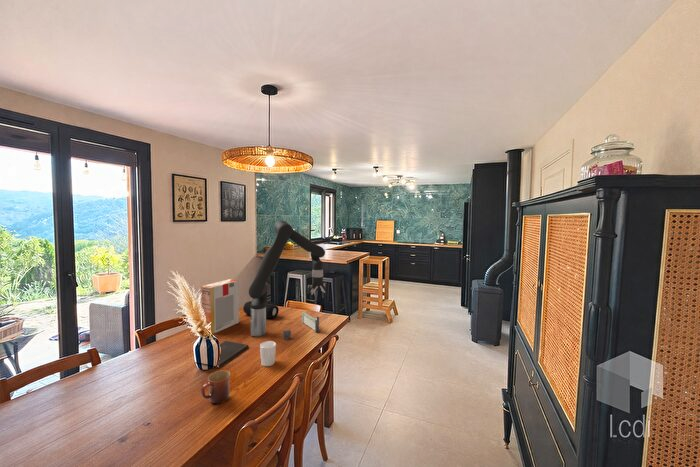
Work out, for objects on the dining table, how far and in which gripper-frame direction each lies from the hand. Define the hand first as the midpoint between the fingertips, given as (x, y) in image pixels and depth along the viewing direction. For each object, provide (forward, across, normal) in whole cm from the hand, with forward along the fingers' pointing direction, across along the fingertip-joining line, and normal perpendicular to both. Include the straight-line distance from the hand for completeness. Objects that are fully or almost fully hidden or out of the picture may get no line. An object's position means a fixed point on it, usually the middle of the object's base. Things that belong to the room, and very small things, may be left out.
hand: (317, 298), depth 199 cm
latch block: (+18, -26, -11) cm, 33 cm away
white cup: (+18, -44, -35) cm, 59 cm away
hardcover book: (+19, -63, -15) cm, 67 cm away
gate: (+18, -7, -1) cm, 19 cm away
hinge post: (+18, -5, -12) cm, 22 cm away
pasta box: (+18, -59, +26) cm, 67 cm away
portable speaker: (+18, -31, +35) cm, 50 cm away
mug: (+18, -70, -55) cm, 91 cm away
